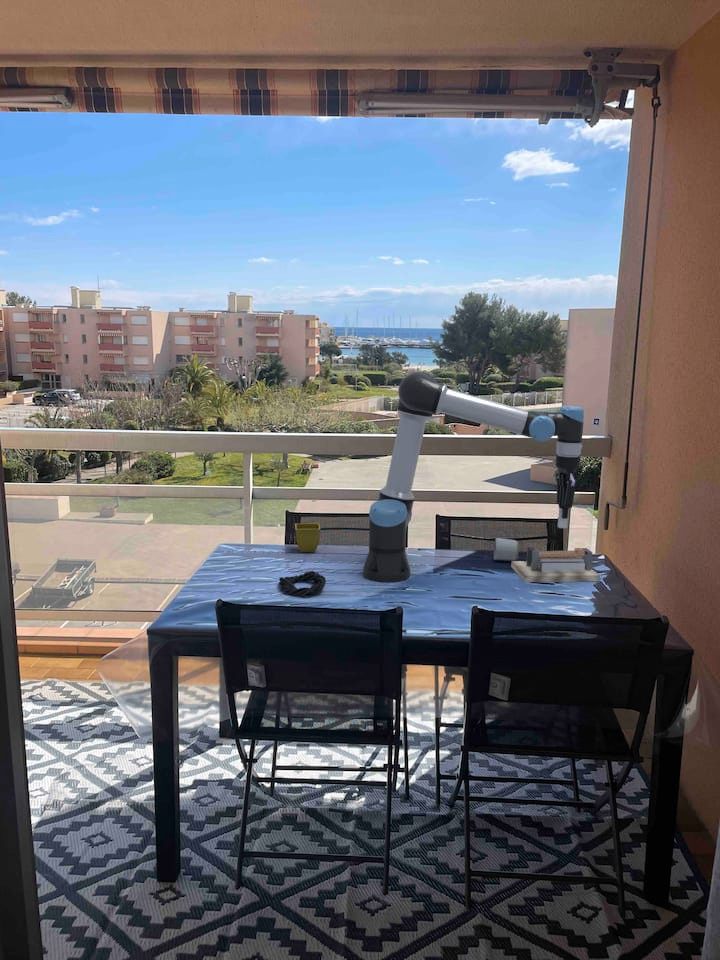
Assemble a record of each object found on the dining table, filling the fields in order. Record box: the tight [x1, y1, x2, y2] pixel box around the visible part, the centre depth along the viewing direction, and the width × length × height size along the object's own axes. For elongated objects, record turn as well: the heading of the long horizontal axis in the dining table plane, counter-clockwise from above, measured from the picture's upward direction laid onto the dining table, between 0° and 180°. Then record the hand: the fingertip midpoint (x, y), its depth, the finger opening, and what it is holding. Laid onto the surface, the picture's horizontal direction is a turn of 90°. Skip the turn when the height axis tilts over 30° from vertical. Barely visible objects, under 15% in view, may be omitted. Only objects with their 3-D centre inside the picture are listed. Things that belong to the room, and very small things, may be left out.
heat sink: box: [525, 545, 593, 573], centre depth 244 cm, size 20×11×6 cm, turn 94°
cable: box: [278, 570, 327, 598], centre depth 225 cm, size 17×14×4 cm
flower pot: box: [294, 522, 321, 553], centre depth 266 cm, size 9×9×9 cm
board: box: [510, 560, 601, 583], centre depth 245 cm, size 24×16×2 cm, turn 95°
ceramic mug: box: [493, 537, 520, 562], centre depth 261 cm, size 11×8×8 cm
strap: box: [530, 547, 585, 557], centre depth 243 cm, size 17×4×2 cm, turn 95°
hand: (562, 527), depth 242 cm, fingers closed
